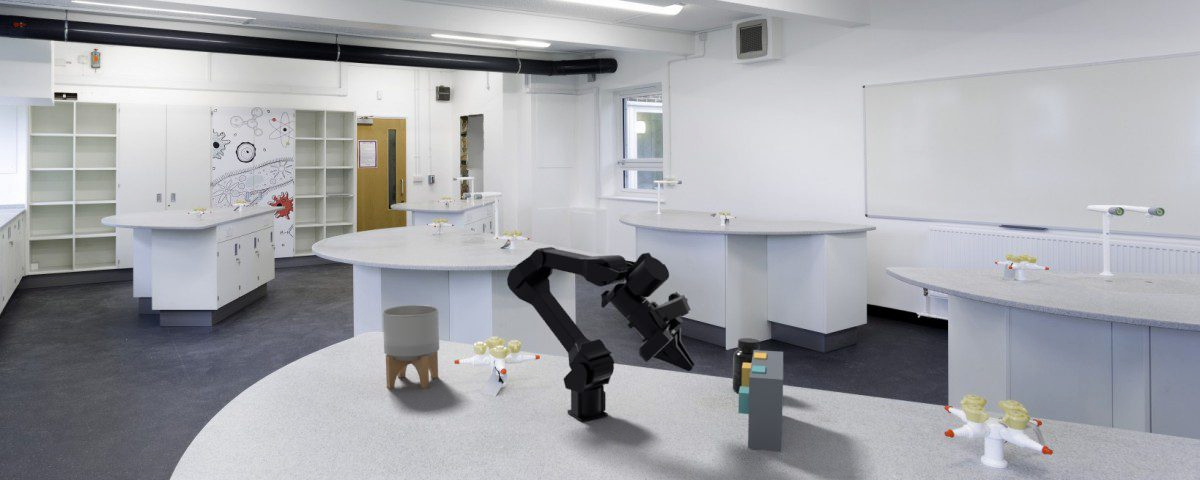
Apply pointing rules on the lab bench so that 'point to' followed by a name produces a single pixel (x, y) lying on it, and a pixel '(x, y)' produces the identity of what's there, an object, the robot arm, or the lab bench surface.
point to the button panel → (765, 401)
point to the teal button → (743, 400)
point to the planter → (411, 342)
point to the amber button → (746, 374)
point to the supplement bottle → (742, 359)
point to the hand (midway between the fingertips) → (692, 368)
